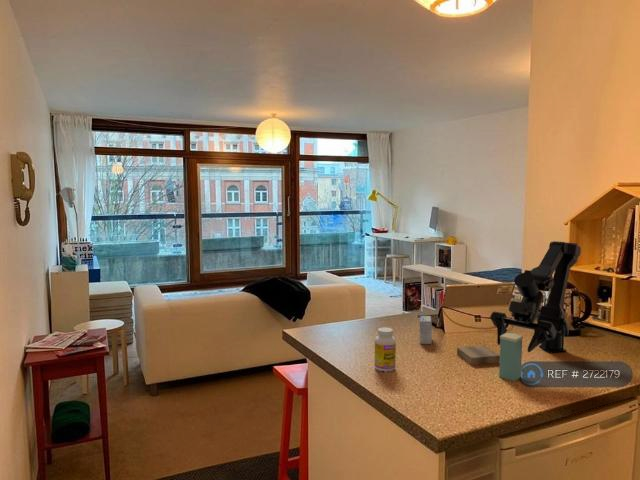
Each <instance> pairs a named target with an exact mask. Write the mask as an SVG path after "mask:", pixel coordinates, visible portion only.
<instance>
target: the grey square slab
mask: <svg viewBox="0 0 640 480" xmlns="http://www.w3.org/2000/svg"><path fill="white" fill-rule="evenodd" d="M456 355H457V357H459V358H461V359H462V360H463V361H465V362H466V363H467V364H468V365H469V366H480V365H492V364H493V365H494V364H500V354H498V353H497V352H495V351H494V350H492V349H490V348H489V347H487V346H486V345H475V346H474V345H472V346H461V347H459V346H458V347H456Z"/></svg>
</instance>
